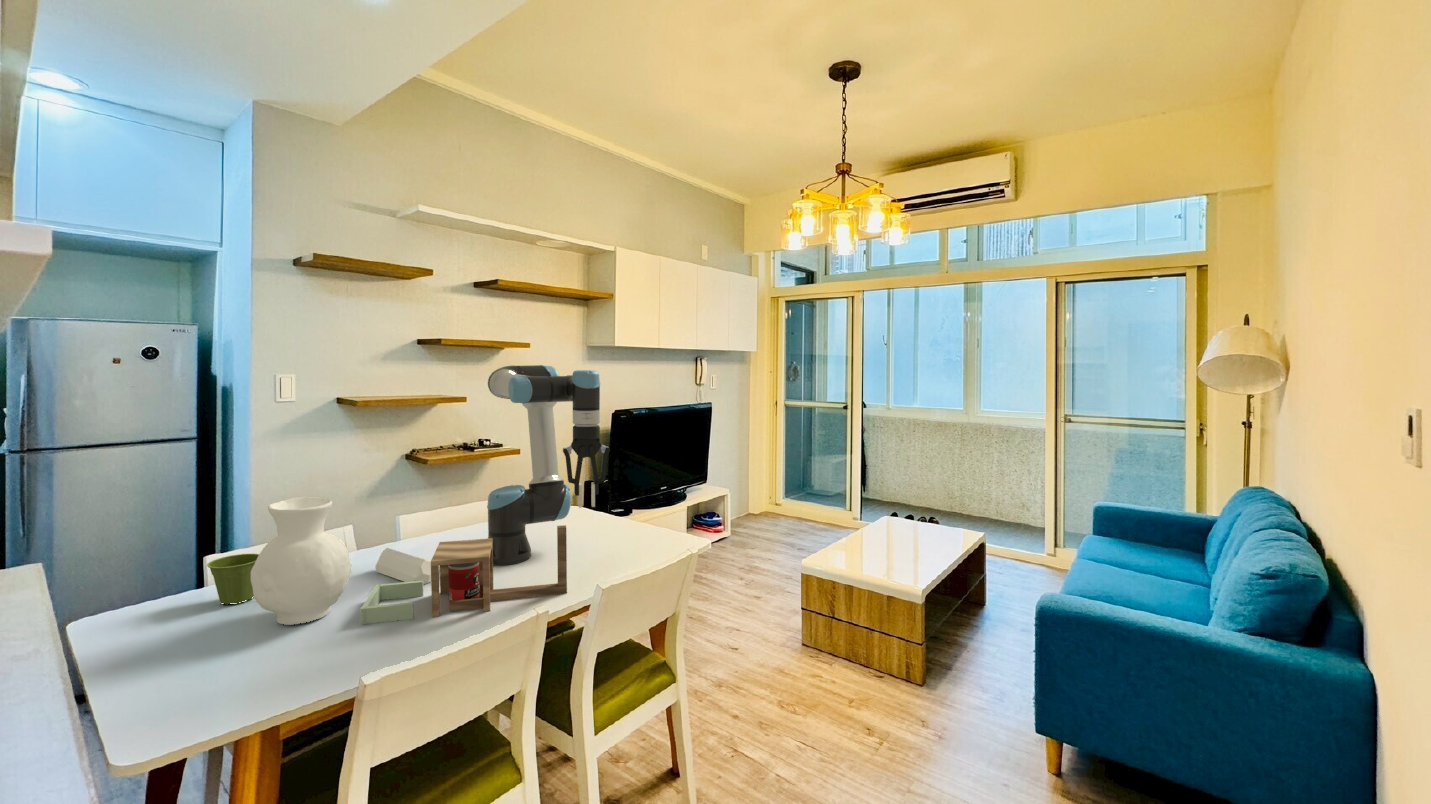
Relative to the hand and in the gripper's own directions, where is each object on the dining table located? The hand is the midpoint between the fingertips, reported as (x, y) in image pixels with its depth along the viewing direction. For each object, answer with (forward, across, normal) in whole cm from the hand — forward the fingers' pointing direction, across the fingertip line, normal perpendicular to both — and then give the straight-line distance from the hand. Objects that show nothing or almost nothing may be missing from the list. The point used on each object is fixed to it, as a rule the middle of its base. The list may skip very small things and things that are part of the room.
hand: (586, 506), depth 174 cm
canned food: (+25, -33, 0) cm, 41 cm away
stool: (+25, -33, 0) cm, 41 cm away
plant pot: (+25, -92, +17) cm, 97 cm away
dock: (+25, -50, 0) cm, 56 cm away
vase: (+25, -71, 0) cm, 75 cm away
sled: (+25, -21, 0) cm, 32 cm away
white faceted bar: (+25, -52, +25) cm, 63 cm away
